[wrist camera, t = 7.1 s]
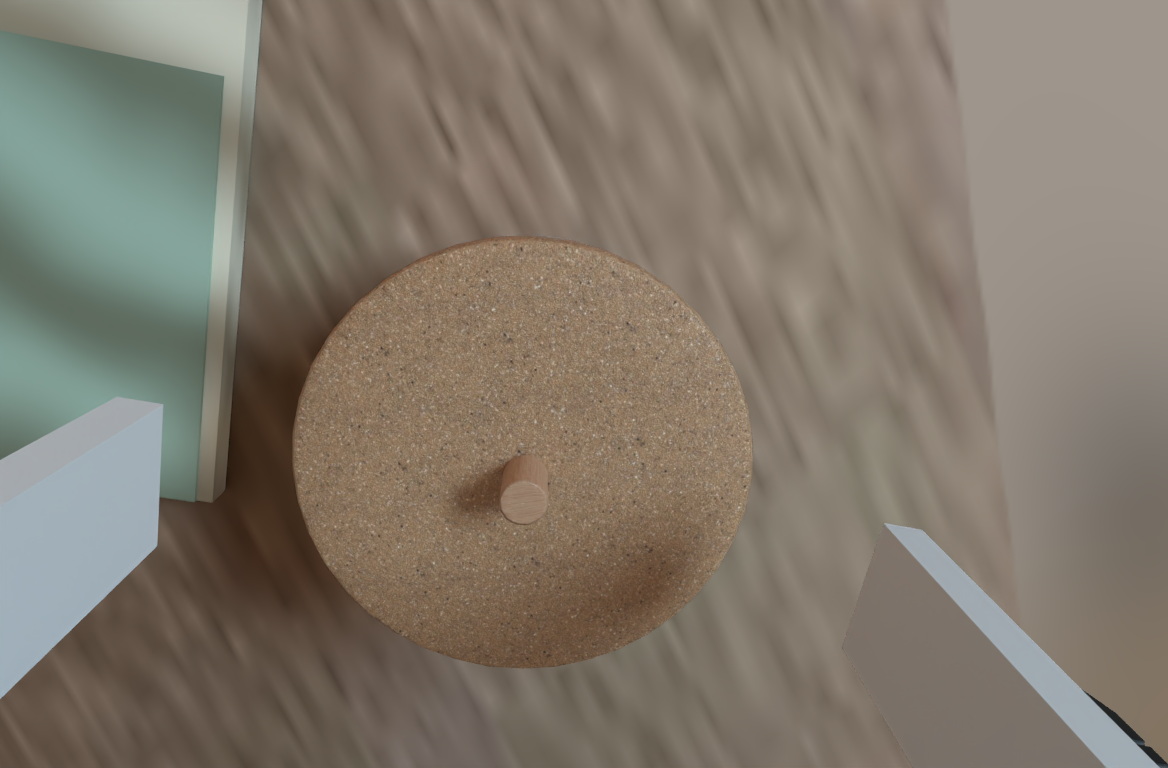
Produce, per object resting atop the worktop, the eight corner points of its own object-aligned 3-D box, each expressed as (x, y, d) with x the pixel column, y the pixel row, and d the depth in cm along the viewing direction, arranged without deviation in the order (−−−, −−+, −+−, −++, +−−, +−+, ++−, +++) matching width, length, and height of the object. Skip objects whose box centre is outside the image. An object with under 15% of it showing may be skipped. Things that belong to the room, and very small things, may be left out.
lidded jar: (705, 510, 26) (786, 686, 17) (400, 549, 26) (322, 746, 17) (680, 197, 23) (762, 212, 14) (337, 239, 23) (203, 281, 14)
